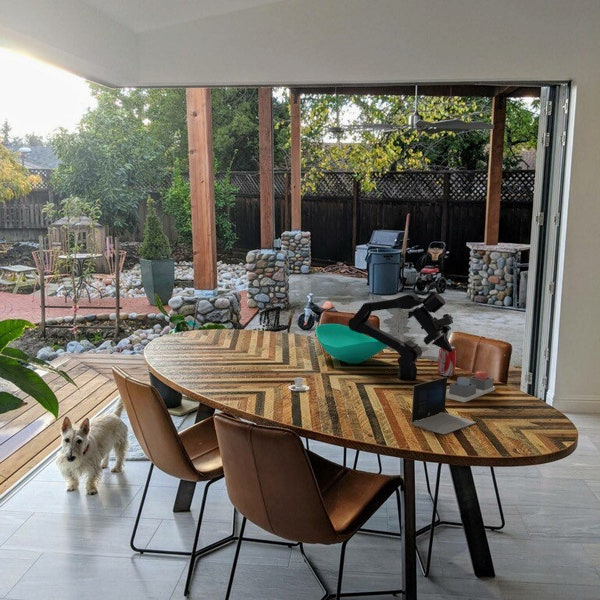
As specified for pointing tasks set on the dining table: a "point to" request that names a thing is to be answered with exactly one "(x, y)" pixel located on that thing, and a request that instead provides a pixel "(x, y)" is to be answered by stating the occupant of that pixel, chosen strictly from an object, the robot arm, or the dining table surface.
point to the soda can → (447, 362)
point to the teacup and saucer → (299, 385)
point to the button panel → (470, 389)
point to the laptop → (434, 408)
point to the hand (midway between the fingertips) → (451, 351)
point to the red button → (481, 375)
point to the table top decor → (347, 343)
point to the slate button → (463, 381)
